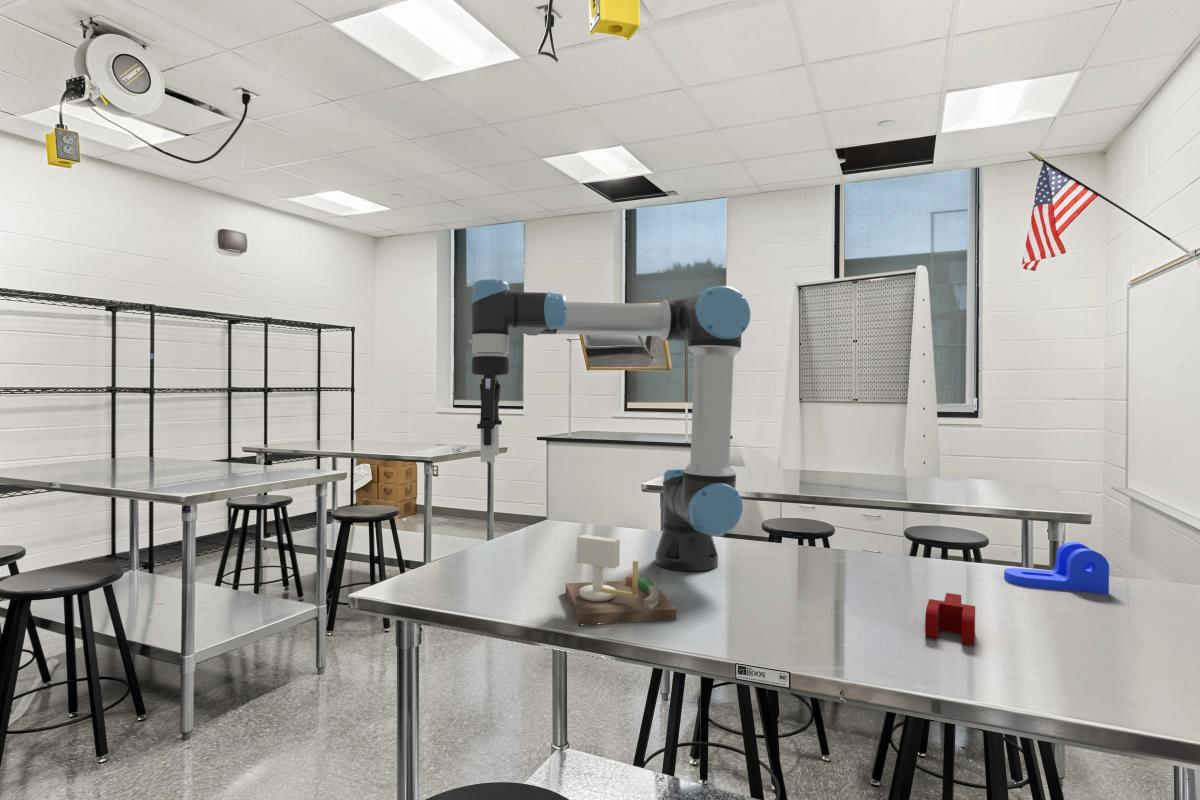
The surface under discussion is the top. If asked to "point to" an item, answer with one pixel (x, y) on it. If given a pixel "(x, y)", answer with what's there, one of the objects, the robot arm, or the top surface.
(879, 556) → the top surface
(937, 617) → the mechanical linkage
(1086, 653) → the top surface
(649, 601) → the wooden base board
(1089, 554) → the bracket
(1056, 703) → the top surface
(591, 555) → the peg
